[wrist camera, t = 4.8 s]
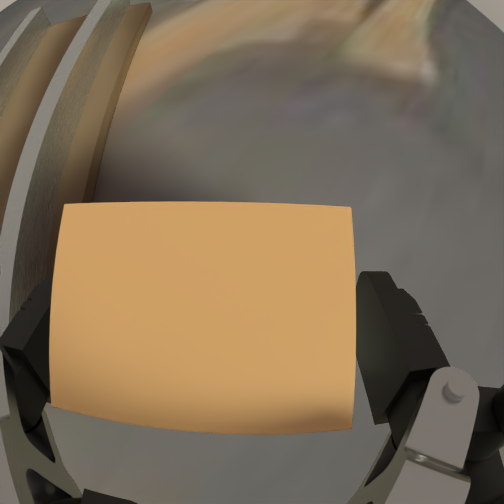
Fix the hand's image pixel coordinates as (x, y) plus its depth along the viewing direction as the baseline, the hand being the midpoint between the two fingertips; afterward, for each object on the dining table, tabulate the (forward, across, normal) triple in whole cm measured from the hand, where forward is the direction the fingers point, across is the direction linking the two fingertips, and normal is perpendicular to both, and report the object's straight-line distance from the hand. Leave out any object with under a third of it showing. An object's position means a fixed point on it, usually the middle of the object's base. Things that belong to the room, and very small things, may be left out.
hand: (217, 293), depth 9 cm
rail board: (+9, +13, -2) cm, 16 cm away
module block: (+3, 0, +4) cm, 5 cm away
